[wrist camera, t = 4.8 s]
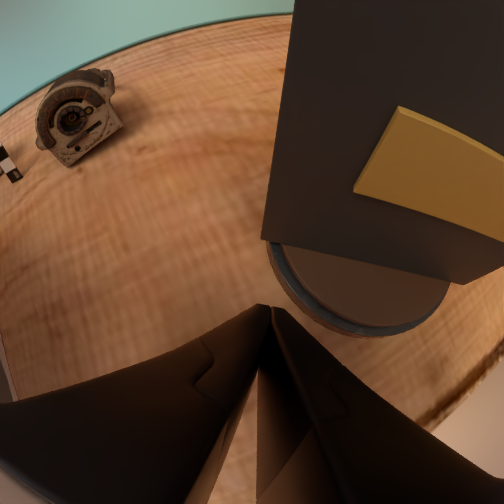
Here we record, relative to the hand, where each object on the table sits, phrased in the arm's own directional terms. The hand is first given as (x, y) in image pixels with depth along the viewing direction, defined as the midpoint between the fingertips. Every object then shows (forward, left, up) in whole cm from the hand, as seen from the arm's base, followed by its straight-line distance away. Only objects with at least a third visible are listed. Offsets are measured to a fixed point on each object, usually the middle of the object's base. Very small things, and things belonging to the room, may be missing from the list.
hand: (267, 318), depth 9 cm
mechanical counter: (+24, +6, -9) cm, 26 cm away
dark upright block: (+3, -10, -7) cm, 12 cm away
